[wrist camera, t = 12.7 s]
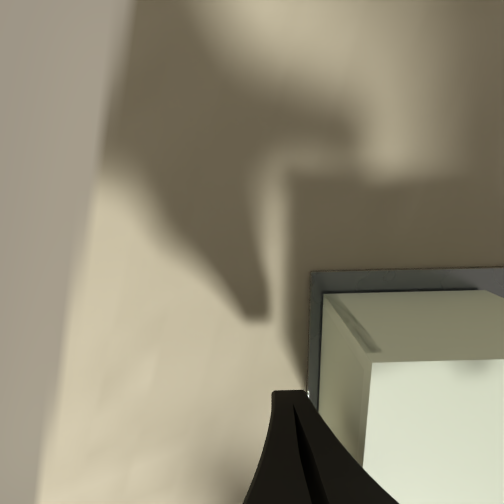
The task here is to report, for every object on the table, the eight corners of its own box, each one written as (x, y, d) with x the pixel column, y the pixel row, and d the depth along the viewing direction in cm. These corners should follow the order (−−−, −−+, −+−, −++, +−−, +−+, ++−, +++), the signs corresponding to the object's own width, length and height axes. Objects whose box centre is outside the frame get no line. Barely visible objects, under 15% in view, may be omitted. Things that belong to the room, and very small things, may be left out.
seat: (510, 266, 14) (585, 289, 11) (477, 431, 16) (531, 490, 13) (310, 271, 14) (329, 295, 11) (305, 437, 16) (319, 496, 13)
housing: (485, 289, 14) (634, 355, 8) (460, 423, 16) (571, 546, 10) (323, 293, 14) (372, 362, 8) (318, 427, 16) (354, 554, 10)
